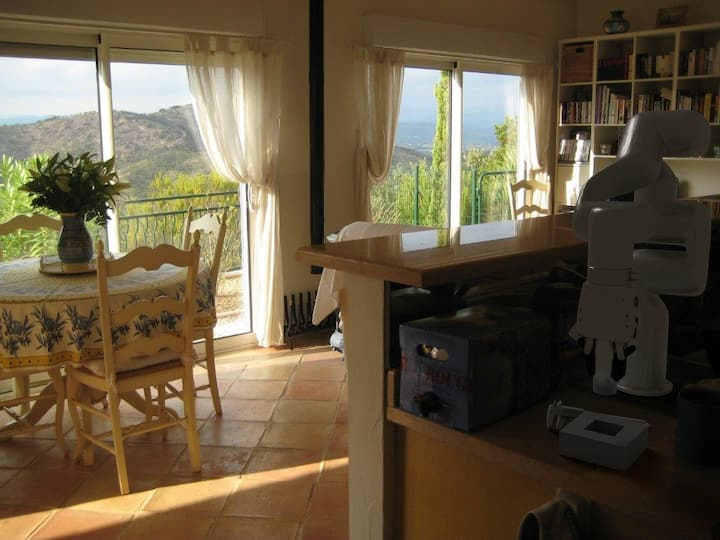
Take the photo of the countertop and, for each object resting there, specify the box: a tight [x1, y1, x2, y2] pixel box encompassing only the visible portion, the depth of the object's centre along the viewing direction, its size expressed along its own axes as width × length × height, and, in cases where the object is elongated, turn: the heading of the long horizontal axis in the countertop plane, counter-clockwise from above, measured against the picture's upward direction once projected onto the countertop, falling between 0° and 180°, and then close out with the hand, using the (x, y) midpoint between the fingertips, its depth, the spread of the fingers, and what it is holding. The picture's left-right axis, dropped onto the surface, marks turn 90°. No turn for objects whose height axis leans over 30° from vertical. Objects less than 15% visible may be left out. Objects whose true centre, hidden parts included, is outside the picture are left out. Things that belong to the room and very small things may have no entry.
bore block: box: [558, 409, 650, 473], centre depth 132 cm, size 12×12×4 cm
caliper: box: [546, 399, 652, 431], centre depth 142 cm, size 20×1×6 cm, turn 90°
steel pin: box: [592, 339, 618, 396], centre depth 129 cm, size 4×4×10 cm
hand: (605, 376), depth 129 cm, fingers closed on steel pin, 4 cm apart
